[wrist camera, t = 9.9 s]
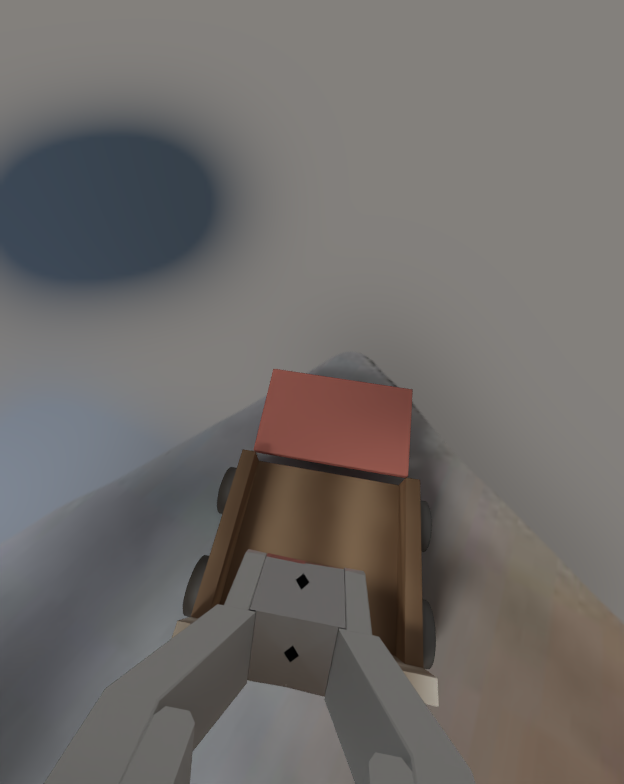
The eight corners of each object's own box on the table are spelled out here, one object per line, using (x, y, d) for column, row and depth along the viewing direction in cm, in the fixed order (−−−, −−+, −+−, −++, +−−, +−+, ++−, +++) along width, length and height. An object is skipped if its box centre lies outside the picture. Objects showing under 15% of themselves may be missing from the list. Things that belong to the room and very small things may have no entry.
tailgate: (253, 449, 30) (273, 368, 33) (256, 453, 31) (275, 375, 35) (408, 476, 28) (412, 389, 32) (402, 478, 30) (407, 395, 33)
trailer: (192, 622, 26) (144, 639, 18) (239, 468, 33) (219, 435, 26) (417, 672, 25) (467, 713, 17) (415, 500, 32) (450, 474, 24)
